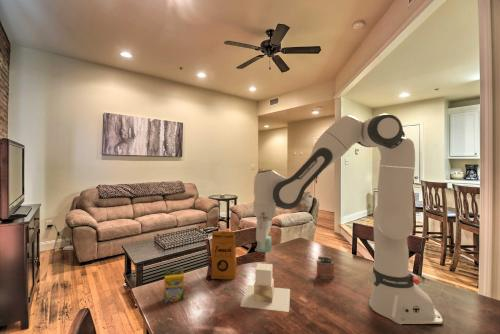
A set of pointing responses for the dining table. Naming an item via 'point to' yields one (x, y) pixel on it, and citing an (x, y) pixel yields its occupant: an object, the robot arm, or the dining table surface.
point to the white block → (264, 274)
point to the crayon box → (174, 285)
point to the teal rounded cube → (268, 245)
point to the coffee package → (223, 255)
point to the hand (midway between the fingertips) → (264, 245)
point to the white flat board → (278, 304)
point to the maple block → (264, 292)
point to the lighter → (325, 268)
